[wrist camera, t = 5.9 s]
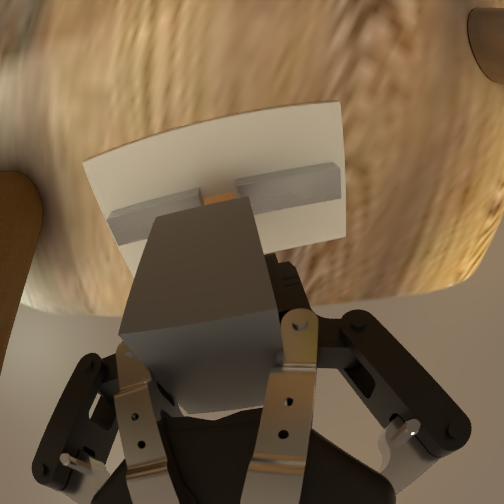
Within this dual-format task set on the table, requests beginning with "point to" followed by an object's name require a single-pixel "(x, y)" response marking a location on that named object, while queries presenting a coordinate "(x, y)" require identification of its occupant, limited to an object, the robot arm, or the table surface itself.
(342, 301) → the table surface
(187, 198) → the rail
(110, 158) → the mounting plate
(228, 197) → the block
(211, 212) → the block
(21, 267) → the plant pot
